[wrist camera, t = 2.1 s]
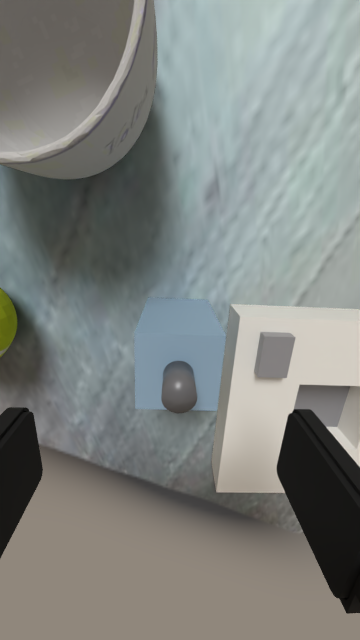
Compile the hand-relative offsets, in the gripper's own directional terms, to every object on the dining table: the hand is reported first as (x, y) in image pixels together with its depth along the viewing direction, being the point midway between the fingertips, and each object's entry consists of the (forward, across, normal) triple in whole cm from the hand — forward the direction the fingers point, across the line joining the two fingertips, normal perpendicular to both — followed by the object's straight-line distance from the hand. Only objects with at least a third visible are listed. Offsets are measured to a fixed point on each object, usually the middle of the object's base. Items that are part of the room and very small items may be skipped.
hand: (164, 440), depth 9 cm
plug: (+11, -1, 0) cm, 11 cm away
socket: (+11, -13, +6) cm, 18 cm away
